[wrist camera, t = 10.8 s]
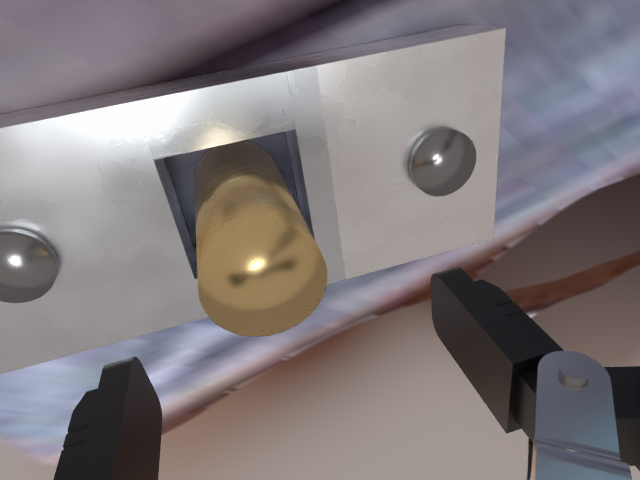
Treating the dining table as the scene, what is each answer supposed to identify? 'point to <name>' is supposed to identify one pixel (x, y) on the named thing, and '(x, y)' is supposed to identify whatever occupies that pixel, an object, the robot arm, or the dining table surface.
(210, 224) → the brass pin
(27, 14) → the dining table surface
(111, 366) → the robot arm
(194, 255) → the studded base plate
